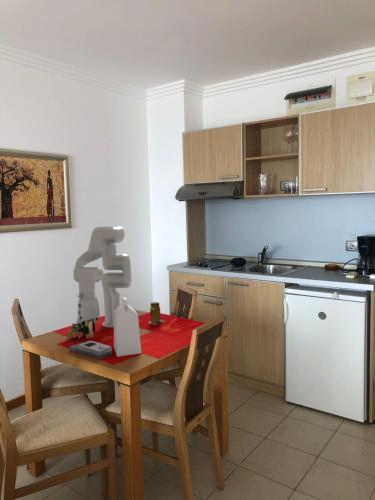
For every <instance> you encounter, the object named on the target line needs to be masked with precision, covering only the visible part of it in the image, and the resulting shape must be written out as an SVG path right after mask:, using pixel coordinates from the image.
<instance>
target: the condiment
mask: <svg viewBox="0 0 375 500" xmlns="http://www.w3.org/2000/svg"><path fill="white" fill-rule="evenodd" d="M149 314H150V315H149V317H150V321H148V323H149V324H151V325H154V326H155V325H159V324H163V323H166V321H165V320H162V319H161V307H160V302H155V301H154V302H151V303H150V307H149Z"/></svg>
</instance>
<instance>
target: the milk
mask: <svg viewBox="0 0 375 500" xmlns="http://www.w3.org/2000/svg"><path fill="white" fill-rule="evenodd" d="M113 345H114V346H113V348H114V351H115V355H116V357H123V356H124V357H125V356H131V355H137V354H138V355H139V354H142V345H141V334H140V324H139V315H138V313H137V311H136V310H135V309H134V308H133V307H132V306H131V305H129V304H128V299H127V297H125V296H124V297H123V296H122V302H121V305H120V306H118V307H117V309H116V310H115V311H114V327H113Z"/></svg>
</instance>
